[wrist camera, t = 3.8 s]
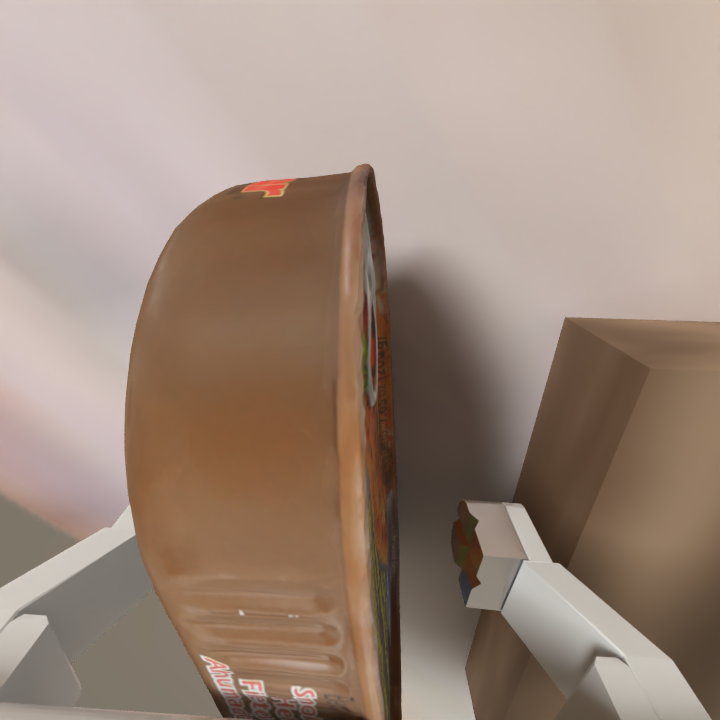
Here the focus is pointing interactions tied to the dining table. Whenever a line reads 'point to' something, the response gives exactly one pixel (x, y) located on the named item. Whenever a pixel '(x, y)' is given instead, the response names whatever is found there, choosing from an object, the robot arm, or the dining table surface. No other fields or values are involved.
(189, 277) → the tin
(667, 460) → the walnut block
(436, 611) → the dining table surface
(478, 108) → the dining table surface
